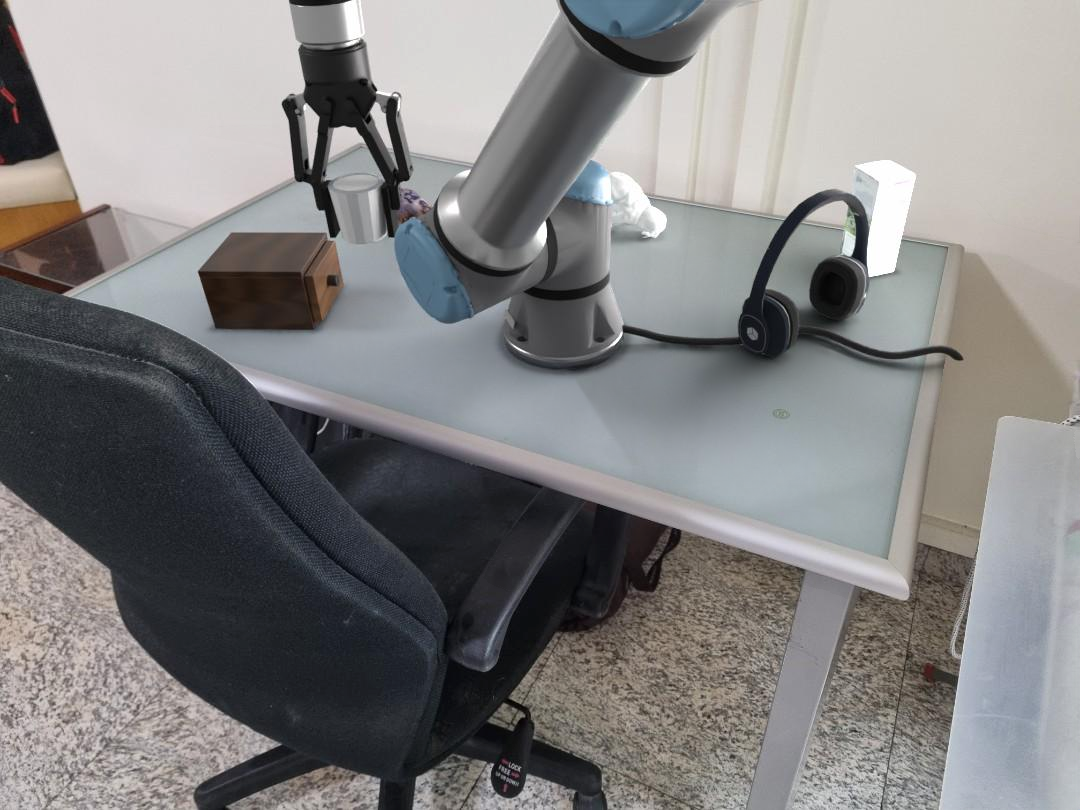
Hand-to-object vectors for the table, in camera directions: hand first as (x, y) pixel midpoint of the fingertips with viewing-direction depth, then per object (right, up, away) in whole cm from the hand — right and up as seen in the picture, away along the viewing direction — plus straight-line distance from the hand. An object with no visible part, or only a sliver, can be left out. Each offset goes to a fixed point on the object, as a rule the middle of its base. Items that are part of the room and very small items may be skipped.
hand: (364, 232), depth 107 cm
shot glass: (0, 0, 0) cm, 0 cm away
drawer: (-12, -8, +9) cm, 17 cm away
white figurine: (+37, +5, +26) cm, 45 cm away
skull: (+2, +7, +30) cm, 31 cm away
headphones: (+55, -13, 0) cm, 57 cm away
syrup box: (+69, -2, +13) cm, 70 cm away
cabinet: (-14, -8, +10) cm, 19 cm away
